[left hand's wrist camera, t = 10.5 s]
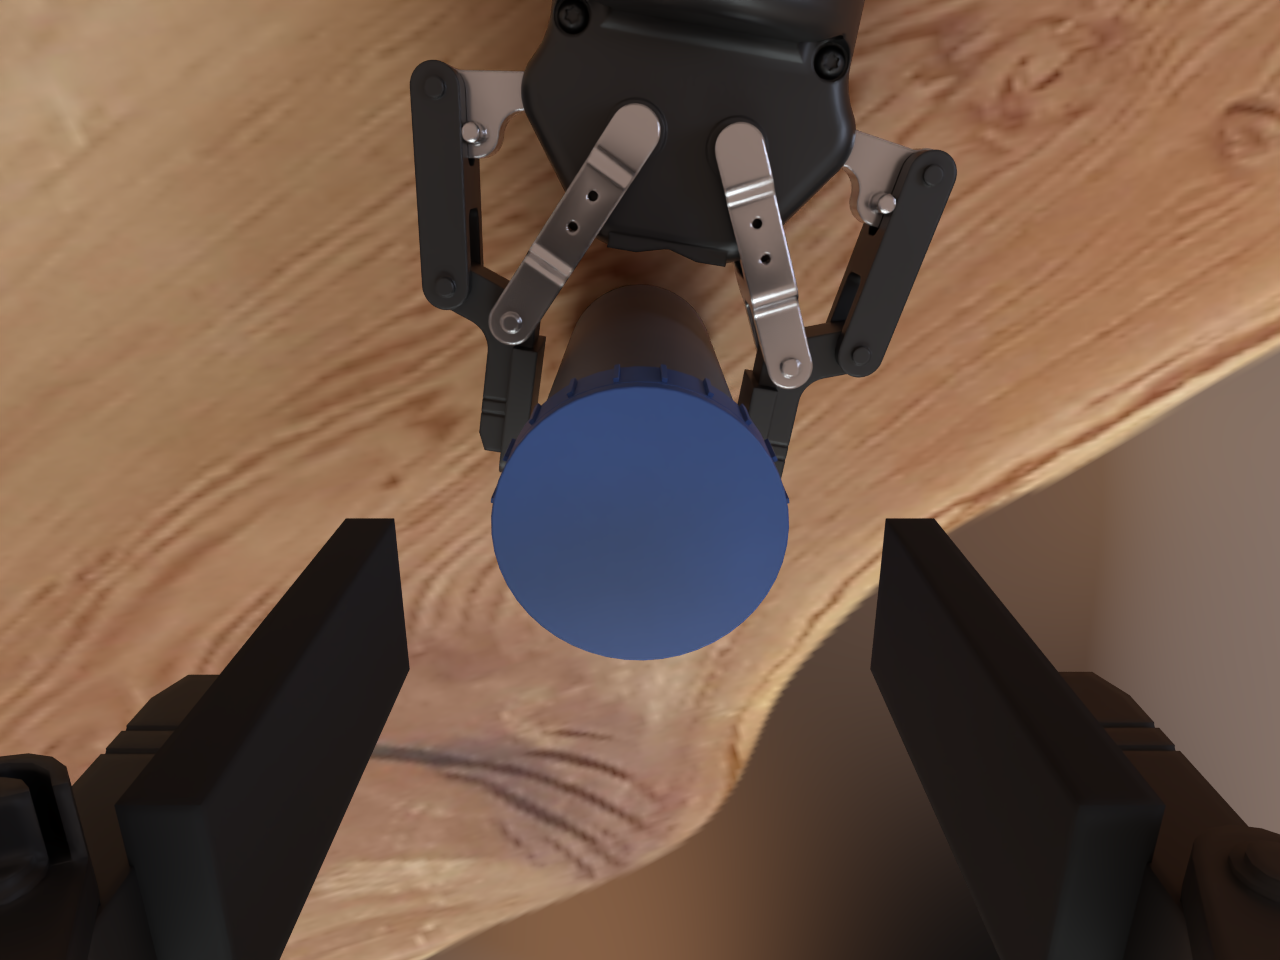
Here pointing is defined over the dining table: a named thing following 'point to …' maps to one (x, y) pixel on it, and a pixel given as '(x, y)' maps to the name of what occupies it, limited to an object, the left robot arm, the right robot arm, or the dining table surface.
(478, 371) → the dining table surface
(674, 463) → the lid
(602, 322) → the jar
